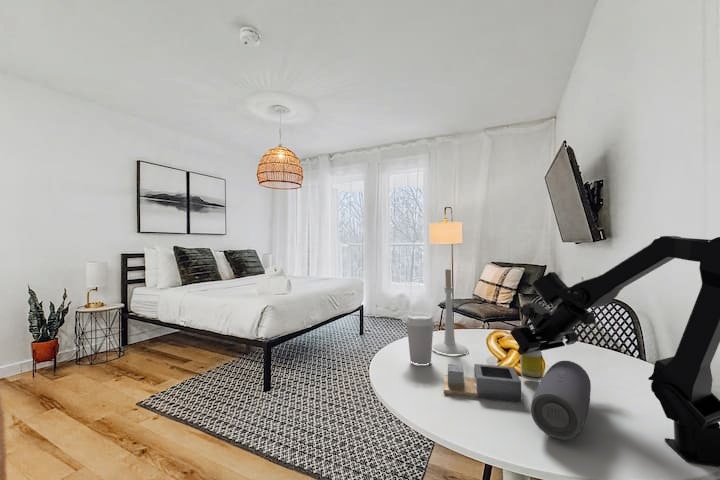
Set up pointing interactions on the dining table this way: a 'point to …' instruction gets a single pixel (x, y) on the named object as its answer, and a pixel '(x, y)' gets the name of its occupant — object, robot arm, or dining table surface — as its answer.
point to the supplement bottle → (532, 366)
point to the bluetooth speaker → (562, 400)
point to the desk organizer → (484, 383)
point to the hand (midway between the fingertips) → (526, 351)
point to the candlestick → (449, 324)
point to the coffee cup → (420, 337)
